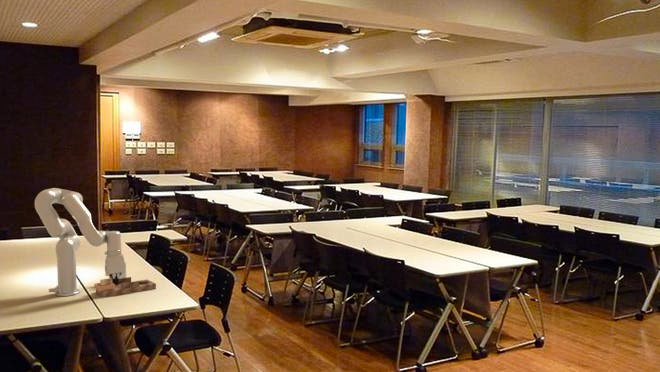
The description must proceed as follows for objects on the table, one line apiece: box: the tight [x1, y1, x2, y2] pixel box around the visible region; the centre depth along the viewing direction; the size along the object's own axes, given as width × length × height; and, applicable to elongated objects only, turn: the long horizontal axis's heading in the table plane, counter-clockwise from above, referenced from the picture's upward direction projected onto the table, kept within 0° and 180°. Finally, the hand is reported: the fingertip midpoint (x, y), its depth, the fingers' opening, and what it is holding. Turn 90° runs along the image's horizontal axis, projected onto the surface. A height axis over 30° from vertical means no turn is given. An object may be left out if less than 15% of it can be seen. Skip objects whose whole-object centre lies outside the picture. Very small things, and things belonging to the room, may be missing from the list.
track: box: [95, 276, 157, 298], centre depth 325 cm, size 30×13×6 cm, turn 130°
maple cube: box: [99, 277, 112, 286], centre depth 318 cm, size 5×5×5 cm
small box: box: [108, 261, 127, 280], centre depth 341 cm, size 8×6×13 cm
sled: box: [93, 282, 115, 291], centre depth 318 cm, size 9×9×2 cm
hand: (115, 284), depth 321 cm, fingers closed
